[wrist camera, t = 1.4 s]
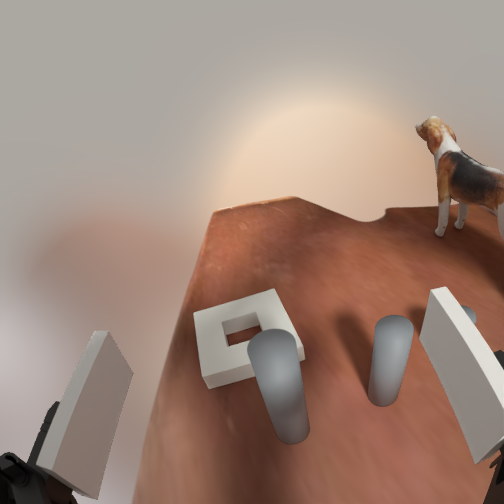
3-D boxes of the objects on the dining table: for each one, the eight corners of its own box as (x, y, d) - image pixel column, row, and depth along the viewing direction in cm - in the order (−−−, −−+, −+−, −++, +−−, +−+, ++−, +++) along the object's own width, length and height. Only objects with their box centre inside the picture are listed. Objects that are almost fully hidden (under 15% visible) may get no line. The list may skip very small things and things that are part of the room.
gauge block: (277, 301, 53) (274, 288, 52) (305, 359, 41) (303, 345, 40) (199, 325, 52) (193, 312, 51) (208, 389, 40) (202, 376, 39)
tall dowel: (303, 411, 34) (287, 322, 26) (314, 437, 31) (303, 355, 23) (272, 422, 34) (242, 337, 26) (281, 448, 30) (253, 371, 22)
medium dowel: (388, 376, 35) (400, 309, 29) (403, 397, 32) (421, 333, 26) (362, 388, 35) (367, 323, 29) (376, 411, 32) (387, 350, 26)
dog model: (431, 207, 70) (429, 111, 57) (552, 294, 35) (584, 161, 22) (403, 216, 69) (399, 113, 57) (529, 315, 34) (568, 166, 21)
